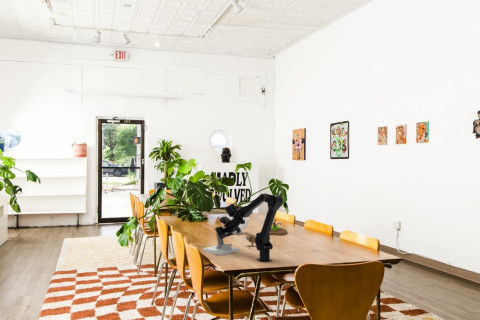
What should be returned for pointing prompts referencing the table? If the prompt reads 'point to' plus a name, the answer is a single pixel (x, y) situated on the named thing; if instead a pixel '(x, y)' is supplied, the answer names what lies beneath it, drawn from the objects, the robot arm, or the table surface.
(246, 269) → the table surface
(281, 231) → the plant
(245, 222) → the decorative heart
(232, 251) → the switch plate
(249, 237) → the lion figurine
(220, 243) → the lever
